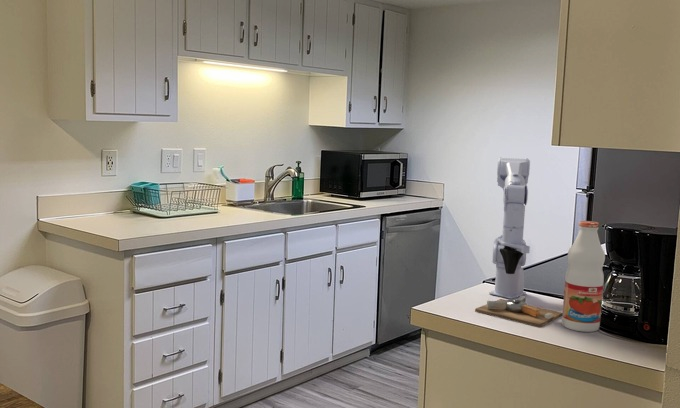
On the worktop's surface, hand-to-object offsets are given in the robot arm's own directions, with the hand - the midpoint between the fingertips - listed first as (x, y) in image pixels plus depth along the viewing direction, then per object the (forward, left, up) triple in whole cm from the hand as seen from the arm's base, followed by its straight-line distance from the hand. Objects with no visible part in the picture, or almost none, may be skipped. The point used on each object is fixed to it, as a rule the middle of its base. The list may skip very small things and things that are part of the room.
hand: (510, 273), depth 189 cm
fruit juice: (+3, +23, -10) cm, 25 cm away
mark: (+4, +14, -10) cm, 18 cm away
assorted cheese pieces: (+5, +6, -9) cm, 12 cm away
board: (+4, +6, -10) cm, 12 cm away
